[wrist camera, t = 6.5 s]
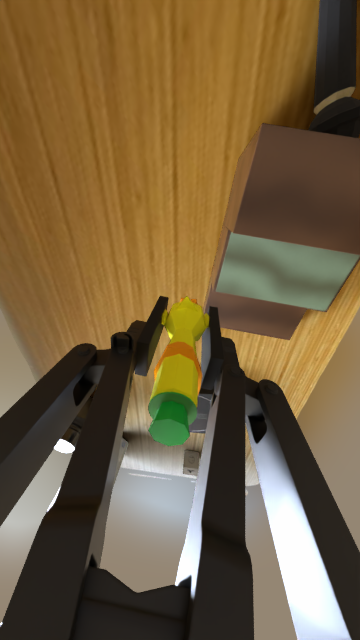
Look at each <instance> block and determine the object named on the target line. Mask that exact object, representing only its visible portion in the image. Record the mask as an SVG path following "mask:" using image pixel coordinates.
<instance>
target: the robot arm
mask: <svg viewBox="0 0 360 640" xmlns="http://www.w3.org/2000/svg"><path fill="white" fill-rule="evenodd" d="M167 305H168V297H163V296H160V297H159V299H158V301H157V303H156V305H155V307H154V309H153V311H152V313H151V315H150V317H149V318H148V320H147V322H143V321H138V320H136V321H135V322H133V323H132V324H131V325H130V327H129V329H128V330H127V332H118V333H115V334H114V335H112V337H111V349H106V350H97V349H96V347H95V346H94V345H92V344H88V343H85V344H80V345H77V346H76V347H74V348H73V349H72V350H71V351H70V352H69V353H68V354H66V355H65V356H64V357H63V358H62V359H61V360H60V361H59V362H58V363H57V364H56V365H55V366H54V367H53V368H52V369H51V370H50V371H49V372H48V373H47V374H46V375H44V376H43V377H42V378H41V379H40V380H39V381H38V382H37V383H36V384H35V385H34V386H33V387H32V388H31V389H30V390H29V391H28V392H27V393H26V394H25V395H24V396H23V397H21V398H20V399H19V400H18V401H17V402H16V403H15V404H14V405H13V406H12V407H11V408H10V409H9V410H8V411H7V412H6V413H5V414H4V415H3V416H2V417H1V418H0V526H1V525H2V523H3V522H4V520H5V519H6V518H7V516H8V515H9V513H10V512H11V510H12V509H13V507H14V506H15V504H16V503H17V502H18V500H19V499H20V497H21V496H22V494H23V493H24V491H25V490H26V488H27V487H28V486H29V484H30V483H31V481H32V480H33V478H34V477H35V475H36V474H37V472H38V471H39V470H40V468H41V467H42V465H43V464H44V462H45V461H46V459H47V458H48V456H49V455H50V454H51V452H52V450H53V449H54V448H55V446H56V445H57V443H58V442H59V440H60V439H61V438H62V436H63V435H64V433H65V432H66V430H67V429H68V427H69V426H70V424H71V423H72V422H73V420H74V419H75V417H76V416H77V414H78V413H79V411H80V410H81V408H82V407H83V406H84V404H85V403H86V401H87V400H88V398H89V397H90V395H91V394H92V392H93V391H94V390H95V388H96V387H97V389H96V391H95V394H94V397H93V399H92V402H91V405H90V408H89V410H88V413H87V416H86V419H85V421H84V424H83V427H82V429H81V432H80V435H79V438H78V440H77V443H76V446H75V449H74V451H73V454H72V457H71V460H70V462H69V465H68V468H67V471H66V473H65V476H64V479H63V481H62V484H61V487H60V489H59V492H58V495H57V497H56V500H55V502H54V504H53V505H52V506H51V508H50V509H49V510H48V511H47V512H46V514H45V516H44V518H43V519H42V522H41V524H40V526H39V529H38V531H37V533H36V536H35V539H34V541H33V544H32V546H31V549H30V551H29V554H28V557H27V559H26V562H25V564H24V567H23V569H22V572H21V575H20V577H19V580H18V582H17V585H16V587H15V590H14V593H13V595H12V598H11V600H10V603H9V606H8V608H7V611H6V613H5V616H4V618H3V621H2V622H1V623H0V640H254V617H253V616H254V613H253V574H252V564H251V558H250V555H249V553H248V550H247V548H246V542H245V423H246V427H247V431H248V435H249V440H250V444H251V448H252V452H253V456H254V461H255V465H256V469H257V473H258V477H259V481H260V486H261V490H262V494H263V498H264V502H265V506H266V511H267V515H268V519H269V523H270V527H271V532H272V536H273V540H274V544H275V548H276V553H277V557H278V561H279V565H280V569H281V574H282V578H283V582H284V586H285V590H286V594H287V599H288V602H289V607H290V611H291V615H292V619H293V623H294V627H295V631H296V635H297V639H298V640H360V552H359V550H358V548H357V546H356V544H355V542H354V540H353V537H352V535H351V533H350V531H349V529H348V527H347V525H346V523H345V521H344V519H343V517H342V514H341V512H340V510H339V508H338V506H337V504H336V502H335V500H334V498H333V496H332V493H331V491H330V489H329V487H328V485H327V483H326V481H325V479H324V477H323V475H322V473H321V471H320V468H319V466H318V464H317V462H316V460H315V458H314V456H313V454H312V452H311V450H310V447H309V445H308V443H307V441H306V439H305V437H304V435H303V433H302V431H301V429H300V427H299V425H298V422H297V420H296V418H295V416H294V414H293V412H292V410H291V408H290V406H289V404H288V402H287V399H286V397H285V395H284V393H283V391H282V390H281V388H280V387H279V386H278V385H277V384H276V383H274V382H273V381H270V380H267V379H263V380H261V381H260V382H259V383H258V382H256V381H254V380H251V379H250V378H248V377H246V376H245V373H244V371H243V370H242V369H241V368H240V367H239V362H238V358H237V353H236V348H235V344H234V342H233V341H232V340H231V339H229V338H224V337H221V330H220V322H219V314H218V307H213V306H209V308H208V312H207V314H208V315H209V327H208V328H206V330H205V331H204V333H203V334H202V356H201V371H202V381H201V388H204V389H209V390H212V389H213V386H214V393H213V396H212V398H211V401H210V404H211V406H210V411H209V417H208V422H207V428H206V433H205V438H204V444H203V449H202V455H201V460H200V465H199V471H198V476H197V482H196V487H195V493H194V498H193V504H192V509H191V514H190V519H189V525H188V530H187V536H186V541H185V545H184V548H183V552H182V555H181V559H180V563H179V568H178V573H177V578H176V583H175V585H170V586H166V587H161V588H157V589H153V590H148V591H144V592H140V593H136V592H134V591H133V590H131V589H130V588H129V587H127V586H126V585H125V584H124V583H122V582H121V581H120V580H118V579H117V578H116V577H114V576H113V575H112V574H111V573H109V572H108V571H107V570H104V569H100V568H99V567H100V561H101V556H102V550H103V544H104V537H105V527H106V521H107V515H108V510H109V505H110V499H111V494H112V488H113V483H114V477H115V472H116V467H117V461H118V456H119V450H120V445H121V440H122V434H123V429H124V423H125V418H126V412H127V407H128V402H129V396H130V391H131V385H132V380H133V373H134V371H135V374H137V375H142V376H147V373H148V370H149V367H150V364H151V362H152V359H153V356H154V353H155V350H156V347H157V344H158V342H159V339H160V336H161V333H162V330H163V327H164V325H163V324H162V323H161V318H162V313H163V311H164V310H165V309H166V311H167ZM97 385H98V386H97Z"/></svg>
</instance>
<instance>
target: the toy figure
mask: <svg viewBox="0 0 360 640" xmlns="http://www.w3.org/2000/svg"><path fill="white" fill-rule="evenodd" d="M161 323H162V324H163V325H164V326H165V328H166V330H167V332H168V334H169V336H170V338H171V340H170V342H169V345H167V347H166V349H165V351H164V352H163V354H162V356H161V358H160V360H159V362H158V364H157V366H156V368H155V369H154V378H155V383H154V387H153V390H152V394H151V398H150V403H149V406H148V410H149V414H150V416H151V417H152V418H153V421H152V423H151V425H150V428H149V430H148V431H149V432H150V434H151V436H152V437H153V439H154V441H157V442H159V443H162V444H164V445H167V446H173V445H182V444H183V443H184V442H185V441H186V440H187V439H188V437H189V436H190V433H189V425H190V424H191V423H193V422H194V420H195V419H196V416H197V408H196V407H197V397H198V394H199V391H200V387H201V381H202V371H201V367H200V364H199V362H198V359H197V353H196V346H195V341H198V340H199V339H200V337H201V336H202V334H203V333H204V331H205V330H206V328H208V327H209V315H208V314H207V313H206V314H205V315H204V313H203V310H202V307H201V306H200V305H198V304H197V300H196V299H191V300H190V299H189V298H188V296H186V297H185V298H181V301H180V302H178V303H175V304H173V306H172V308H171V310H170V312H169V314H168V312H167V311H166V309H165V310H164V311H163V313H162V318H161Z"/></svg>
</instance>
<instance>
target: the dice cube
mask: <svg viewBox="0 0 360 640" xmlns="http://www.w3.org/2000/svg"><path fill="white" fill-rule="evenodd" d="M198 470H199V452H195V451H187V450H185V453H184V464H183V474H188V475H195V476H198Z"/></svg>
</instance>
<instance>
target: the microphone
mask: <svg viewBox="0 0 360 640" xmlns="http://www.w3.org/2000/svg"><path fill="white" fill-rule="evenodd" d="M356 8H357V0H320V8H319V25H318V43H317V61H316V79H315V97H314V113H315V114H316V116H315V118H314V119H313V121H312V122H311V124H310V127H309V129H308V130H309V131H315V132H322V133H328V134H334V135H341V136H347V137H353V138H358V137H359V135H360V100H358V99H355V98H352V97H351V95H352V93H353V92H354V90H355V88H356Z"/></svg>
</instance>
